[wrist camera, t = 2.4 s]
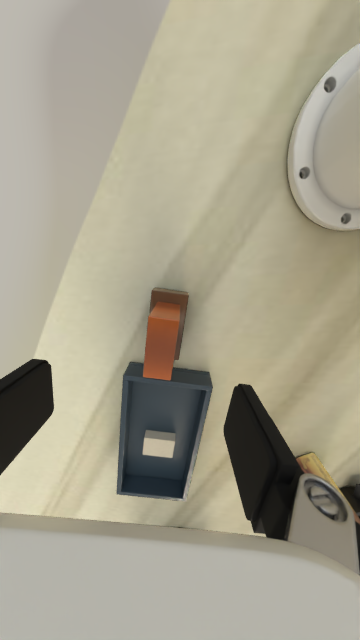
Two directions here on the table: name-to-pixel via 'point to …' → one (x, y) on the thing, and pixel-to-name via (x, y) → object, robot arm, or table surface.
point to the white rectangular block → (159, 443)
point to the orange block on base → (164, 332)
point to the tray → (165, 416)
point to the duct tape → (352, 497)
